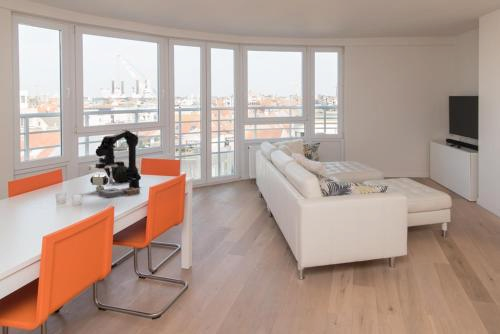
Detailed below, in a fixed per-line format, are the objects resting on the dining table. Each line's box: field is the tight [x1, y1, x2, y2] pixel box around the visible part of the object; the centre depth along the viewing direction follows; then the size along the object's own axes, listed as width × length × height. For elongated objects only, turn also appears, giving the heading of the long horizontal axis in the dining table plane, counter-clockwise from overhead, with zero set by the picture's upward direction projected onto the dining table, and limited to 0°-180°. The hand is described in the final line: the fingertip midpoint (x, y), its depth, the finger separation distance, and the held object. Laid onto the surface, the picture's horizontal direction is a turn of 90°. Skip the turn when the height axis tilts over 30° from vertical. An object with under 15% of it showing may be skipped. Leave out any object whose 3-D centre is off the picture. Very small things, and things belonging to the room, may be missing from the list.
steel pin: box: [108, 170, 114, 185], centre depth 296 cm, size 2×2×8 cm
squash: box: [113, 165, 129, 183], centre depth 344 cm, size 14×15×15 cm
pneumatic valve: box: [89, 173, 109, 192], centre depth 310 cm, size 6×12×12 cm, turn 84°
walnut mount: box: [120, 187, 140, 196], centre depth 302 cm, size 9×10×3 cm
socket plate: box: [97, 187, 126, 199], centre depth 298 cm, size 12×14×3 cm
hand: (110, 177), depth 296 cm, fingers closed on steel pin, 2 cm apart
